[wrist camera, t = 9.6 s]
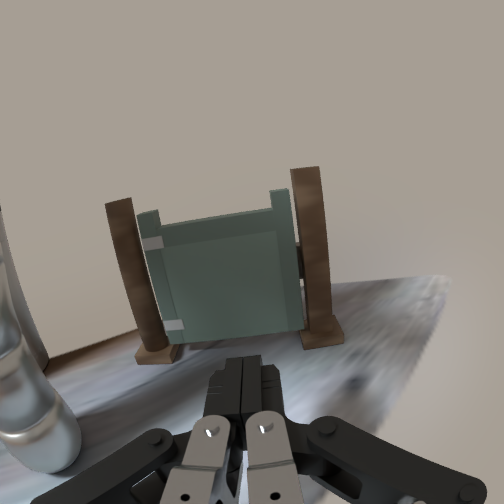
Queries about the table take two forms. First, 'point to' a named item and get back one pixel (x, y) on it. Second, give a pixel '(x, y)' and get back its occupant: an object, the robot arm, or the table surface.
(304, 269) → the post
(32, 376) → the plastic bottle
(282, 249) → the gate
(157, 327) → the hinge post
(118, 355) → the table surface
